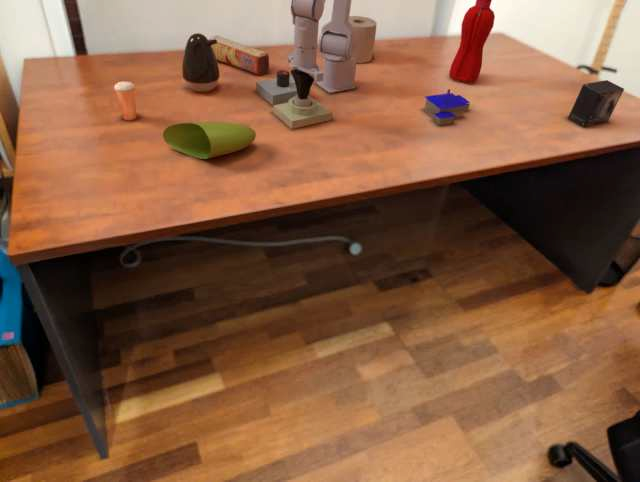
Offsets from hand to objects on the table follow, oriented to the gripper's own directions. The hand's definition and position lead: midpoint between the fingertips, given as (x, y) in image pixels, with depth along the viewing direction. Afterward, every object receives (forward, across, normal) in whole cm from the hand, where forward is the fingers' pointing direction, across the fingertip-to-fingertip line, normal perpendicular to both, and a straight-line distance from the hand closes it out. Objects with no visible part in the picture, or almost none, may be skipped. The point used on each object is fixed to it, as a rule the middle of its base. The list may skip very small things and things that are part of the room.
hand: (302, 98), depth 129 cm
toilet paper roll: (+5, -31, +40) cm, 51 cm away
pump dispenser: (+5, -27, -17) cm, 32 cm away
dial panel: (+5, -14, +2) cm, 15 cm away
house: (+5, +15, +38) cm, 41 cm away
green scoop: (+6, +7, -28) cm, 29 cm away
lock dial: (+2, -14, +2) cm, 14 cm away
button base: (+5, 0, 0) cm, 5 cm away
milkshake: (+6, -18, -40) cm, 44 cm away
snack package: (+5, -39, 0) cm, 39 cm away
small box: (+5, +37, +75) cm, 84 cm away
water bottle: (+5, -1, +62) cm, 62 cm away
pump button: (+2, 0, 0) cm, 2 cm away
